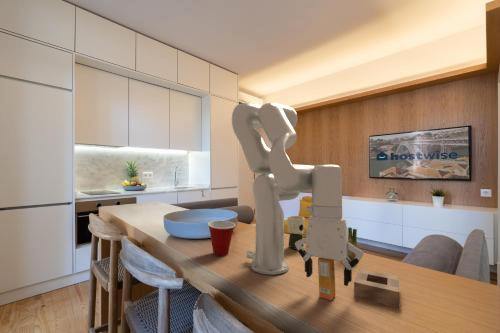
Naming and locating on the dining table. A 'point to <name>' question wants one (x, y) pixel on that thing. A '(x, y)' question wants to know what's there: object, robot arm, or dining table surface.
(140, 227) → the dining table surface
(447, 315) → the dining table surface
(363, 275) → the square wooden frame
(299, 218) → the character mug
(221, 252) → the plastic cup
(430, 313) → the dining table surface
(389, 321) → the dining table surface
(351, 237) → the fennel bulb
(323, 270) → the supplement box
